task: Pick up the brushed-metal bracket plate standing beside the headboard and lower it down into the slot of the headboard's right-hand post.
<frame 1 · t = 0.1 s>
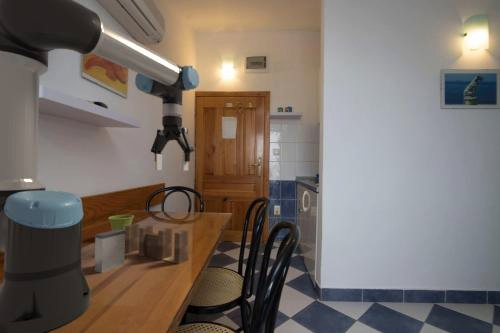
hand: (171, 170, 100), 28 cm above the table, fingers open, 13 cm apart
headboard: (155, 255, 82), on the table
bracket plate: (110, 267, 72), on the table
plant pot: (121, 238, 104), on the table
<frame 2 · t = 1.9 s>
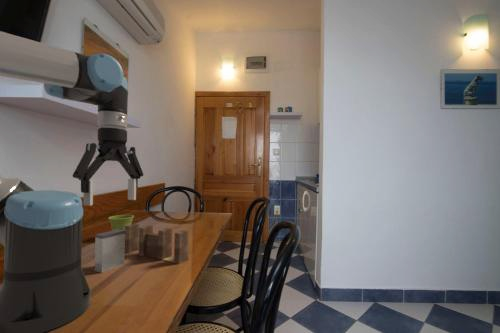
hand: (111, 202, 73), 19 cm above the table, fingers open, 13 cm apart
nothing on the table moved.
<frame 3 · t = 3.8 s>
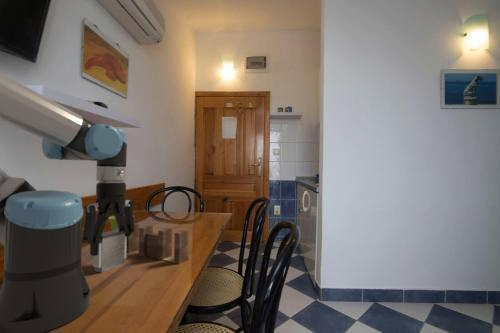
hand: (110, 261, 72), 2 cm above the table, fingers closed on bracket plate, 7 cm apart
bracket plate: (110, 267, 72), on the table, touching gripper
everything else where it was.
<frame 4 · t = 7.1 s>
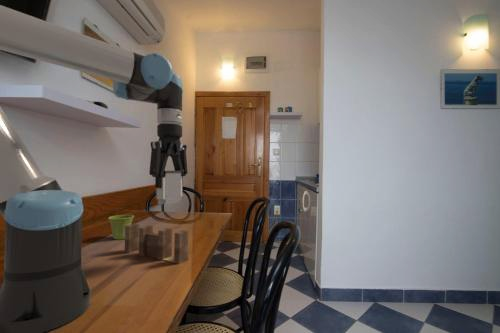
hand: (169, 197, 79), 19 cm above the table, fingers closed on bracket plate, 7 cm apart
bracket plate: (169, 202, 79), point 18 cm above the table, touching gripper
everything else where it was.
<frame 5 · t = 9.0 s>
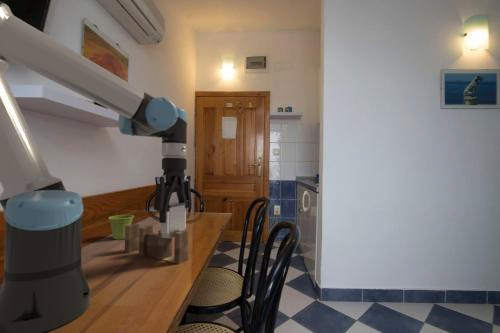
hand: (173, 230, 79), 9 cm above the table, fingers closed on bracket plate, 7 cm apart
bracket plate: (173, 235, 79), point 8 cm above the table, touching gripper
everything else where it was.
when the fingers open (4 cm above the table, at t = 10.5 s): bracket plate drops 2 cm, resting on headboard.
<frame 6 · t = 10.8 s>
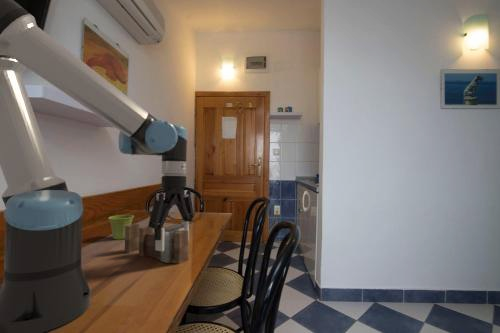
hand: (173, 245, 79), 4 cm above the table, fingers open, 10 cm apart
bracket plate: (172, 258, 79), resting on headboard
everything else where it was.
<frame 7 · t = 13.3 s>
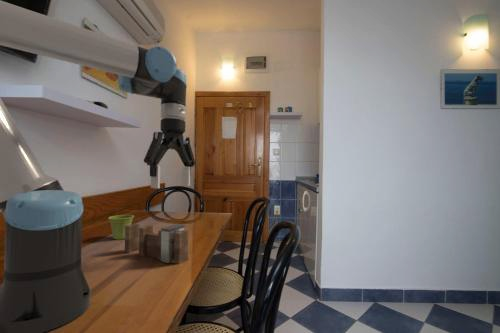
hand: (171, 187, 79), 23 cm above the table, fingers open, 13 cm apart
nothing on the table moved.
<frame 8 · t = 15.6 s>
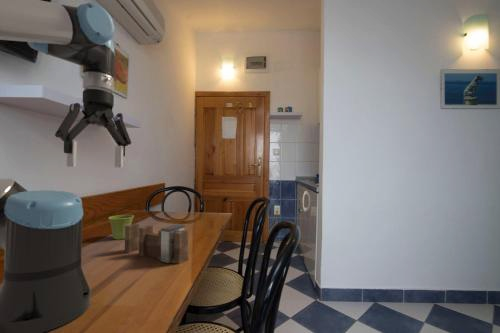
hand: (97, 167, 71), 29 cm above the table, fingers open, 13 cm apart
nothing on the table moved.
at the end: bracket plate 0.1 cm from the target spot on the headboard, point 0.3 cm above the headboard's base; bracket plate tilted 0°; the gripper is holding nothing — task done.
